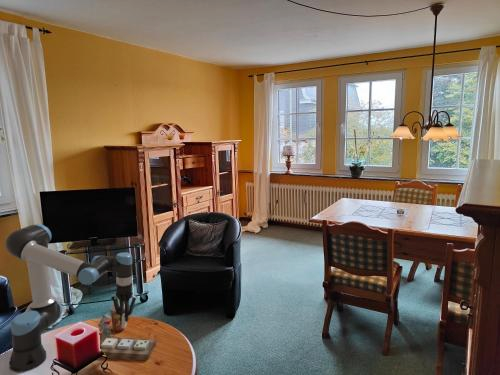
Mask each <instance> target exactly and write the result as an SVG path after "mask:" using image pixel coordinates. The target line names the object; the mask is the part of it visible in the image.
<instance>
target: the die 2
mask: <svg viewBox="0 0 500 375" xmlns="http://www.w3.org/2000/svg"><path fill="white" fill-rule="evenodd" d="M133 344H134V343H133V340H130V339H122V340H121V341H120V343H119V344H118V346H117V349H126V350H130V348H131V347H132V345H133Z"/></svg>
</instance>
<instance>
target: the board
mask: <svg viewBox="0 0 500 375" xmlns="http://www.w3.org/2000/svg"><path fill="white" fill-rule="evenodd" d="M106 338H112V339H118V343H117V344H116V346H115V347H114V348H113V349H109V348H101V344H102V343H103V342H104V341H105V339H106ZM122 339H130V340H133V343H134V344H133V345H132V347H131V348H130V350H126V349H117V346H118V344H119V343H120V341H121V340H122ZM138 340H148V341H149V346H148V348H147V350H146V351H143V350H134V345H135V344H136V342H137V341H138ZM99 343H100V349H101V351H103V352H104V353H105V354H106V355H107V357H108V358H107V359H124V360H140V361H148V360H149V358H150V357H151V355H152V353H153V351H154V349H156V346H157V339H152V338H135V337H121V336H120V337H118V336H117V337H116V336H113V337H107V336H106V337H104V339H103V340H102V339H101V340H100V342H99Z"/></svg>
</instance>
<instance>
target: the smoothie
mask: <svg viewBox="0 0 500 375" xmlns="http://www.w3.org/2000/svg"><path fill="white" fill-rule="evenodd" d="M117 299H118V298H117ZM118 303H119V299H118ZM119 307H120V303H119ZM124 314H125V304H124ZM110 315H111V328H112V330H113V331H114V332H115V333H119V332H122V331H124V329H125V328H122V321H120V315H119V314H118V315H117V314H116V311H115V307H114V303H112V305H111V306H110Z"/></svg>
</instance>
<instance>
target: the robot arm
mask: <svg viewBox="0 0 500 375" xmlns="http://www.w3.org/2000/svg"><path fill="white" fill-rule="evenodd" d="M51 240H52V232H51V231H50V229H49V227H47V226H45V225H44V224H39V223H36V224H30V225H28V226H24V227H23V228H19V229H17V230H14V231H12V232H11V233H10V234H9V235H8V236H7V237H6V240H5V243H4V244H5V248H6V251H7V252H8V253H9V254H10V255H11V256H13V257H14V258H16V259H20V260H23V261H26V265H27V271H28V279H29V286H30V291H31V297H32V302H31V303H30V305H29V308H30V310H28V311H25V312H22V313H20V314H18V315H16V316H15V317H14V318H13V319H12V321H11V325H10V326H11V327H10V332H11V341H12V343H11V344H12V353H11V356H10V358H9V362H8V365H9V369H10V371H12V372H17V373H20V372H27V371H30V370H33V369H35V368H37V367H39V366H40V365H42V364H43V363H44V362H46V360H47V351H46V350H45V348H44V346H43V344H42V334H43V333H44V332H45V331H46V330H47V329H49V328H50V327H51V326H52V325H54V324H56V322H58V320H59V319H60V318H61V316H62V314H63V306H62V304H61V302H59V301H58V300H57V299H56V297H54V296H53V294H52V287H51V282H50V280H51V278H50V274H49V268H51V269H54V270H57V271H60V272H61V273H62V272H63V273H64V274H68V275H71V276H74V277H75V278H77V279H78V282H80V283H81V284H82V285H84V286H88V285H91V284H93V283H95V282H97V280H99V278H101V277H102V276H103V275H104V274H106V273H115V274H116V275H115V276H116V278H115V279H116V285H115V286H116V289H115V290H116V293H115V294H113V295H112V296H111V297H110V298H111V300H112V302H113V303H114V307H115V311H116V314H117V315H118V314H119V315H120V321H122V328H124V329H126V327H127V326H128V323H127V322H128V321H129V320H130V319H129V316H131V315H132V313H133V311H134V308H135V303H136V301H137V299H138V296H136V295H134V294H133V256H132V254H131V253H130V252H119V253H117V254H116V255H115V256H111V255H110V256H107V255H95V256H93V258H92V260H91V262H90V263H89V262H87V261H84V260H82V259H79V258H76V257H73V256H70V255H68V254H64V253H63V252H60V251H56V250H54V249H52V248H49V243H50V242H51ZM48 267H49V268H48ZM118 299H119V303H120V307H119V303H118ZM130 300H131V302H130ZM113 303H112V304H113ZM124 304H125V314H124Z"/></svg>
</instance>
